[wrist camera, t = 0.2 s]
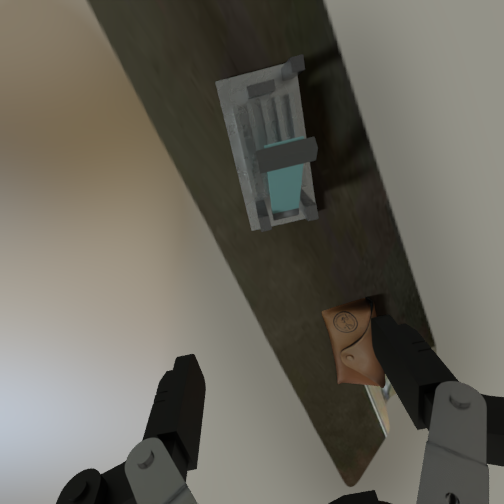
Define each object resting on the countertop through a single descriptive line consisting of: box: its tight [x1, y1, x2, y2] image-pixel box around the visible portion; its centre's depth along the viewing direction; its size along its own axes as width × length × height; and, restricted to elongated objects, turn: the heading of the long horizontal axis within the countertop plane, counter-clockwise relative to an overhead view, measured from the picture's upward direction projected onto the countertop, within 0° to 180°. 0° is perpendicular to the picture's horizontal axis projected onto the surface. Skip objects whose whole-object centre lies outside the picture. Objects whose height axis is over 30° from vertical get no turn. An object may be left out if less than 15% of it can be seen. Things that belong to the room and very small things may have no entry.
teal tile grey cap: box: [256, 136, 318, 221], centre depth 28 cm, size 14×4×2 cm
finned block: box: [215, 54, 319, 232], centre depth 33 cm, size 18×9×8 cm, turn 13°
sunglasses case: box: [322, 297, 385, 388], centre depth 50 cm, size 18×7×7 cm
